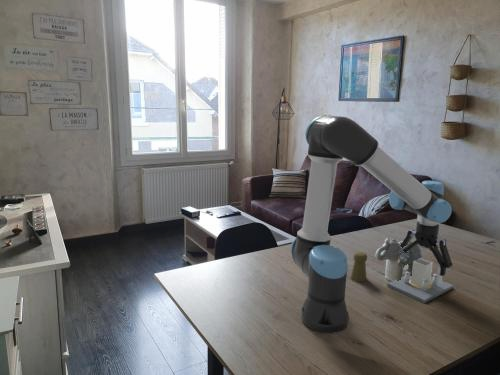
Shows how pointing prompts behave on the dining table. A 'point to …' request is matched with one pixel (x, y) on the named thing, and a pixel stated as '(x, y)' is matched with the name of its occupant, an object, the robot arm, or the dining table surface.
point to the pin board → (418, 292)
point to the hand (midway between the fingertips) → (421, 275)
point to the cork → (359, 267)
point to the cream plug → (421, 272)
